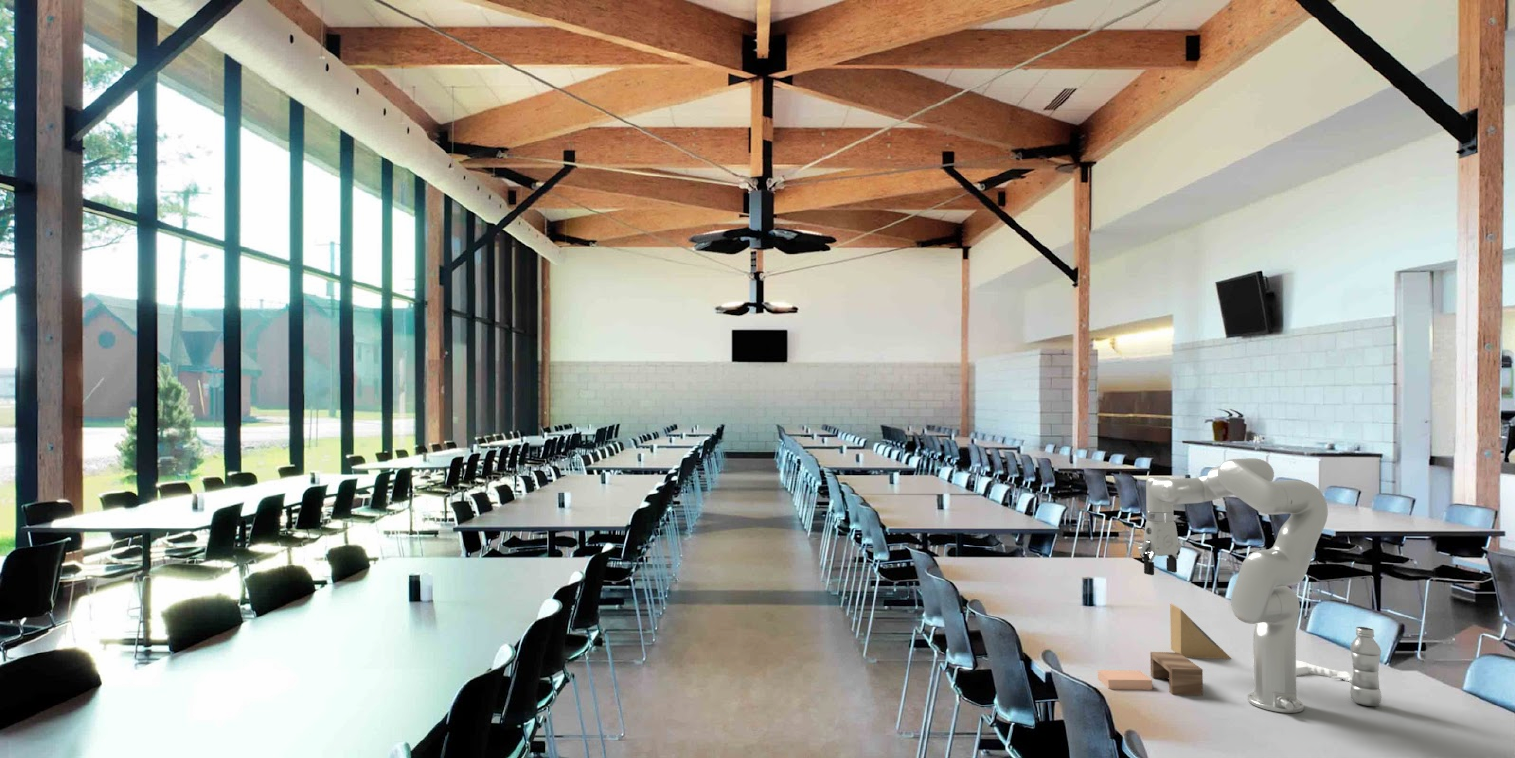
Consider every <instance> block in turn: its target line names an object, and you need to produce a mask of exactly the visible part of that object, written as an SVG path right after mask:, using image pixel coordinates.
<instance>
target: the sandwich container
mask: <svg viewBox="0 0 1515 758" xmlns="http://www.w3.org/2000/svg"><path fill="white" fill-rule="evenodd" d="M1169 604H1170V605H1169V606H1170V649H1171V651H1173V653H1180V654H1181V655H1183V656H1184V657H1186V658H1195V659H1197V658H1198V659H1199V658H1200V659H1226V660H1227V659H1231V660H1232V657H1231V656H1230V655H1228V654H1227V652H1225V651H1224V650H1223V649H1222V648H1221V647H1220V646H1219V645H1218V643H1216V642H1215V641H1214V640H1213V639H1212V638H1211V637H1210V636H1209V635H1208V634H1207V633H1206V632H1205V631H1204V630H1203V629H1202V628H1200V627H1199V626H1198V624H1196V623H1195V621H1193V620H1192V619H1191V618H1190V617H1189V616H1188V615H1187V614H1186V612H1184V611H1183V610H1182V608H1180V607H1179V606H1177V605H1175V604H1173V603H1169Z"/></svg>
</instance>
